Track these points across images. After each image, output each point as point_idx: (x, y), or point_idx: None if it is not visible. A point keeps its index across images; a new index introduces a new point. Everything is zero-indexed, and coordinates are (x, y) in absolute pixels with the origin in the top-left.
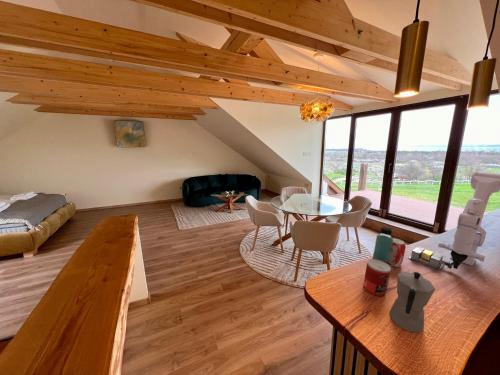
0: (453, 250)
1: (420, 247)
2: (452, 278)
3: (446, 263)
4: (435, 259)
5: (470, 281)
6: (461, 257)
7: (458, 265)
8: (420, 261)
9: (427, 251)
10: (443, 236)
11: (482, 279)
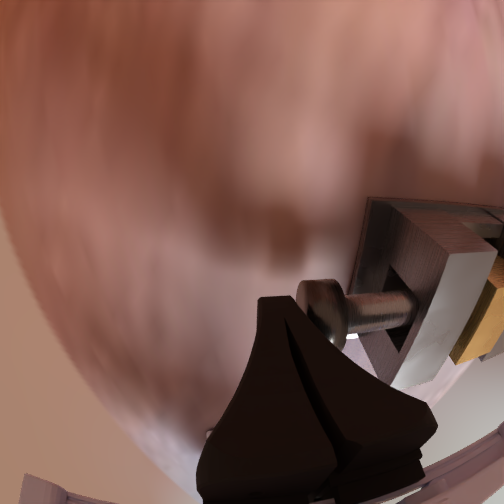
0: (451, 496)
1: (498, 353)
2: (254, 138)
3: (357, 308)
4: (469, 251)
5: (133, 237)
6: (279, 456)
7: (260, 329)
8: (482, 214)
9: (491, 335)
10: None
11: (110, 342)
